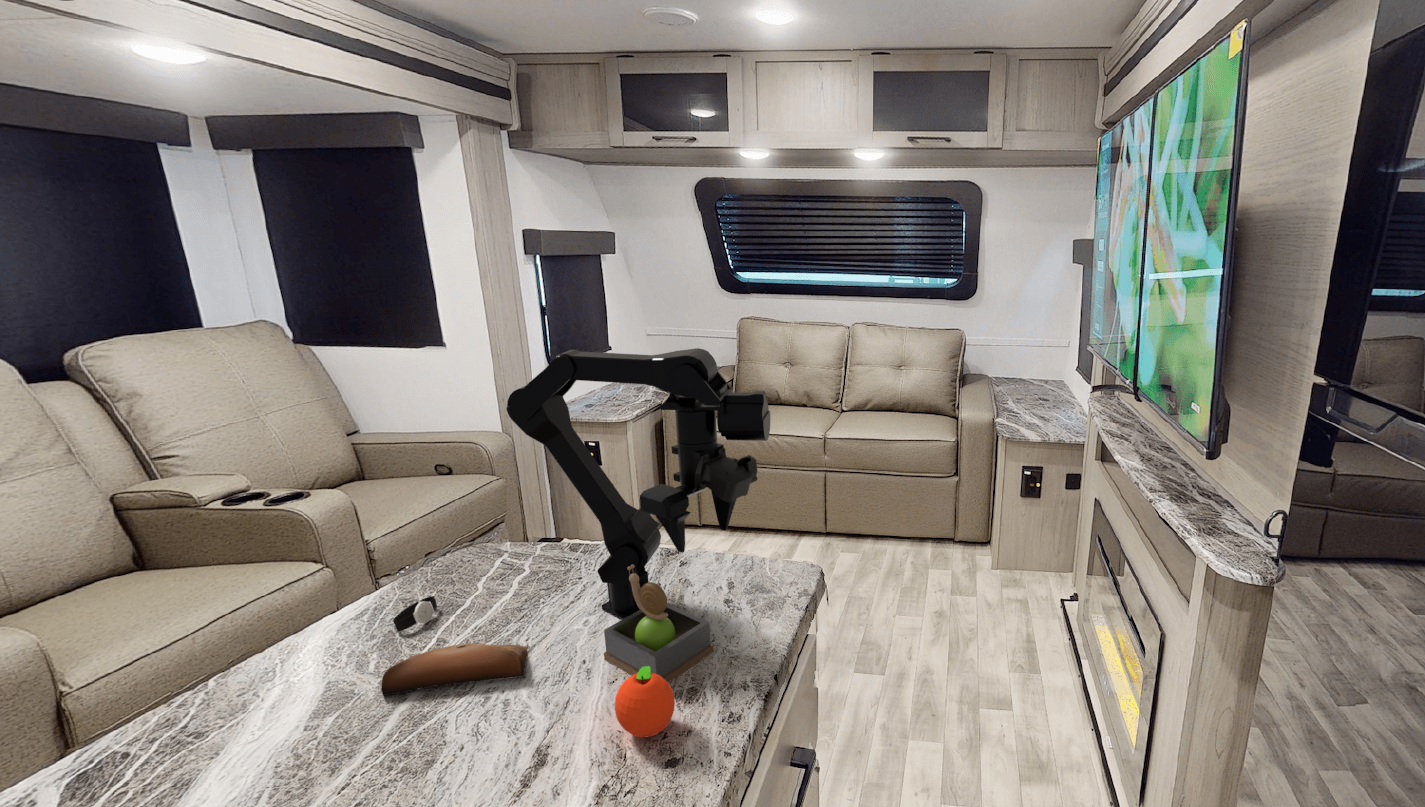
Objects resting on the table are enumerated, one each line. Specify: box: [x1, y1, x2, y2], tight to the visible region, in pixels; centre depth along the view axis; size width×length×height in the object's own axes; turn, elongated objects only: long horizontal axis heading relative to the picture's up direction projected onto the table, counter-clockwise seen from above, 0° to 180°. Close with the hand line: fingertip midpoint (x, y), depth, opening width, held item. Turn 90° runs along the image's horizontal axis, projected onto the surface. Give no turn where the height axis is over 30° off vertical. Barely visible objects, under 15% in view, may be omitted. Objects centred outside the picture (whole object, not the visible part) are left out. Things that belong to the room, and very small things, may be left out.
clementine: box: [614, 666, 676, 738], centre depth 80 cm, size 8×7×7 cm
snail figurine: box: [627, 564, 675, 652], centre depth 93 cm, size 5×6×12 cm
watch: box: [392, 595, 438, 632], centre depth 107 cm, size 8×5×4 cm, turn 162°
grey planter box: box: [603, 602, 715, 684], centre depth 94 cm, size 11×11×4 cm
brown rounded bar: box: [380, 642, 529, 696], centre depth 93 cm, size 18×7×7 cm
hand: (703, 540), depth 102 cm, fingers open, 9 cm apart
